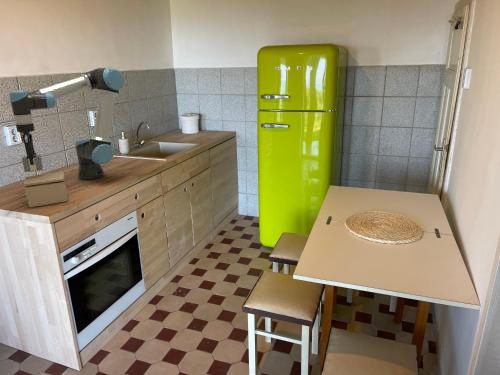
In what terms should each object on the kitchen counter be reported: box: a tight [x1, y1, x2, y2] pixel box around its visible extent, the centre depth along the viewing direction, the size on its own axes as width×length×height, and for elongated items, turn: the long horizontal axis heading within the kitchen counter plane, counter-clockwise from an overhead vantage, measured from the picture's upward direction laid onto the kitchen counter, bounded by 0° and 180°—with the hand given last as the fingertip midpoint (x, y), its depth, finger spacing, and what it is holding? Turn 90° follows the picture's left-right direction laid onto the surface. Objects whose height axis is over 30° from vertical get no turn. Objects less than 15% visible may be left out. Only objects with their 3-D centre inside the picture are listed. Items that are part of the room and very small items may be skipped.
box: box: [24, 180, 69, 208], centre depth 189 cm, size 17×16×10 cm
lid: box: [23, 171, 66, 187], centre depth 187 cm, size 17×16×1 cm
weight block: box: [21, 154, 44, 173], centre depth 189 cm, size 8×5×7 cm, turn 115°
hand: (34, 169), depth 190 cm, fingers closed on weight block, 5 cm apart
